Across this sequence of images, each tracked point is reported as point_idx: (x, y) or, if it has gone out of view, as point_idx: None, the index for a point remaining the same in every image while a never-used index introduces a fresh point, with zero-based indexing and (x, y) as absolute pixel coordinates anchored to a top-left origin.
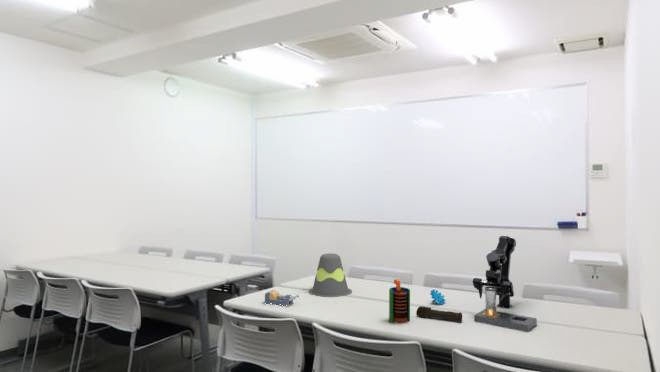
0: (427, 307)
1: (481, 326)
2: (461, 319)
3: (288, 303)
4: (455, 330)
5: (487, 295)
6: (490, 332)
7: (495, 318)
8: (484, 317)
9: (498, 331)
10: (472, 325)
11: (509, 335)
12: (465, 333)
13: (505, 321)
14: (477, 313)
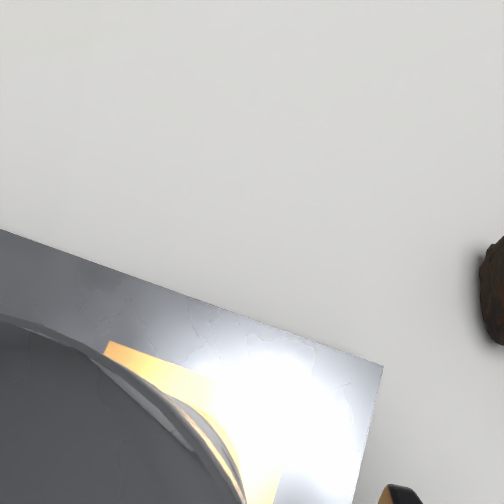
0: None
1: (271, 221)
2: (490, 274)
3: None
4: (458, 61)
5: (185, 408)
6: (191, 90)
7: (114, 305)
8: (249, 318)
9: (122, 131)
10: (355, 224)
11: (43, 65)
12: (374, 22)
13: (7, 232)
14: (354, 479)
